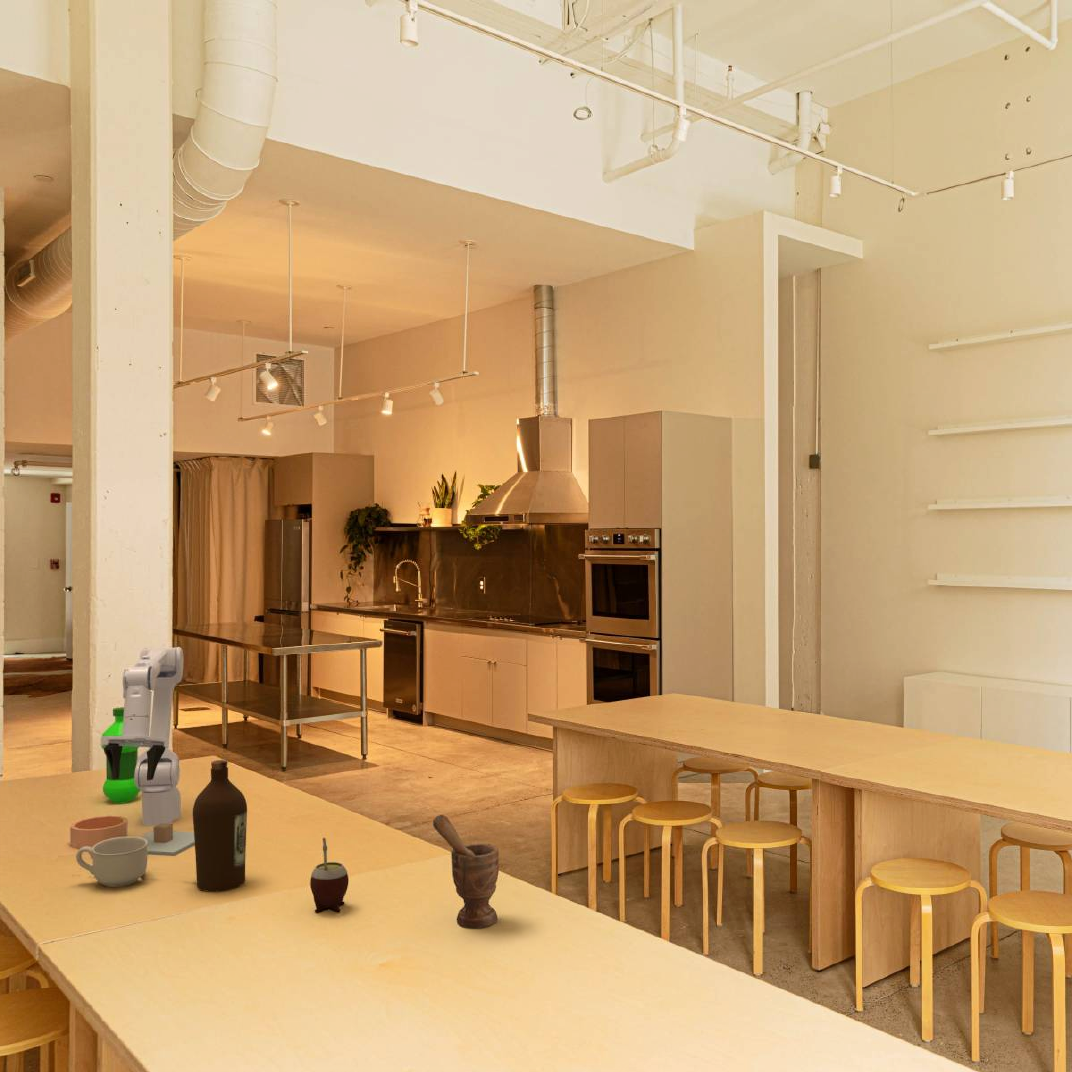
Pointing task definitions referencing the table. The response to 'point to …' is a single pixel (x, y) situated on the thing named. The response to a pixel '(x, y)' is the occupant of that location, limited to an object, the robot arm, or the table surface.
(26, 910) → the table surface
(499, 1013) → the table surface
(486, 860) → the mortar and pestle
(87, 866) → the teacup
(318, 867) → the mate gourd
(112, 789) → the plastic bottle
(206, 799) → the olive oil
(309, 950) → the table surface
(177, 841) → the lid
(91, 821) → the bowl
